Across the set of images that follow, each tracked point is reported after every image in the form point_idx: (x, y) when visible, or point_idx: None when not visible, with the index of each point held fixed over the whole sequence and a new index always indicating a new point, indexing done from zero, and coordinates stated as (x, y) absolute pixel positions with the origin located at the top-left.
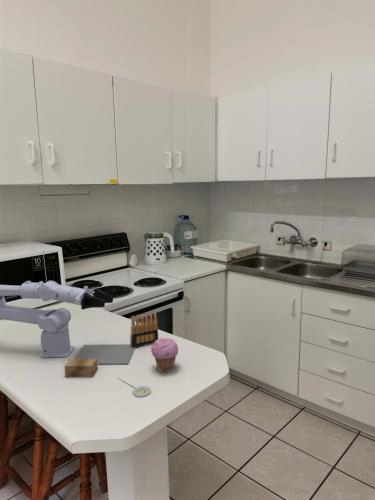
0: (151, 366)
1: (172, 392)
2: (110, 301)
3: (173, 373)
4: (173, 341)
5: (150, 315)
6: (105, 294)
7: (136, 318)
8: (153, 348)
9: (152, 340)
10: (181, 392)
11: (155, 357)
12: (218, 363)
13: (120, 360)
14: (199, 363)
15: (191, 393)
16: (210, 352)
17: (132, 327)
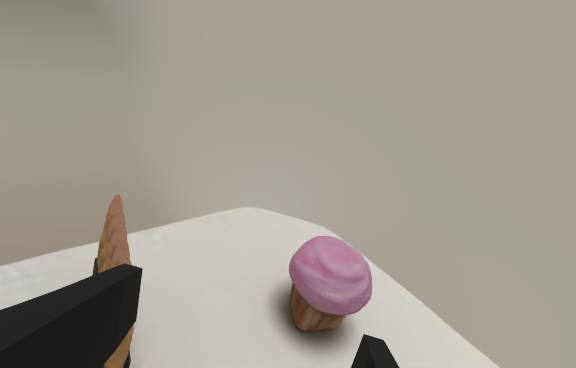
0: (297, 350)
1: (413, 325)
2: (126, 324)
3: None
4: (337, 238)
5: (122, 221)
6: (64, 313)
7: None
8: (357, 295)
9: None
10: (408, 309)
11: (359, 310)
12: (293, 222)
13: None
14: (290, 246)
15: (406, 294)
16: (241, 214)
17: (131, 333)
